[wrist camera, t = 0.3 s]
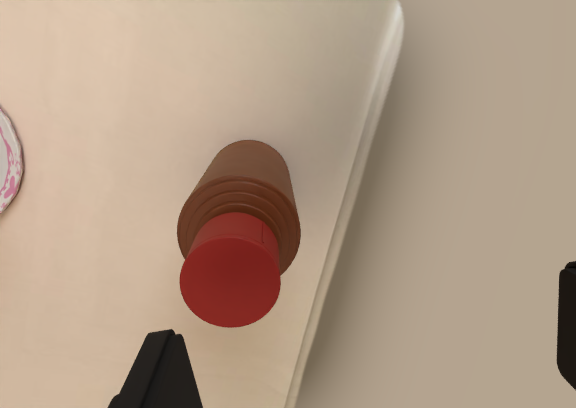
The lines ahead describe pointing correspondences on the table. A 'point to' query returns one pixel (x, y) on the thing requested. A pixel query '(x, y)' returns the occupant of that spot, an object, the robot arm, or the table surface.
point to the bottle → (245, 196)
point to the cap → (232, 271)
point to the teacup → (9, 162)
